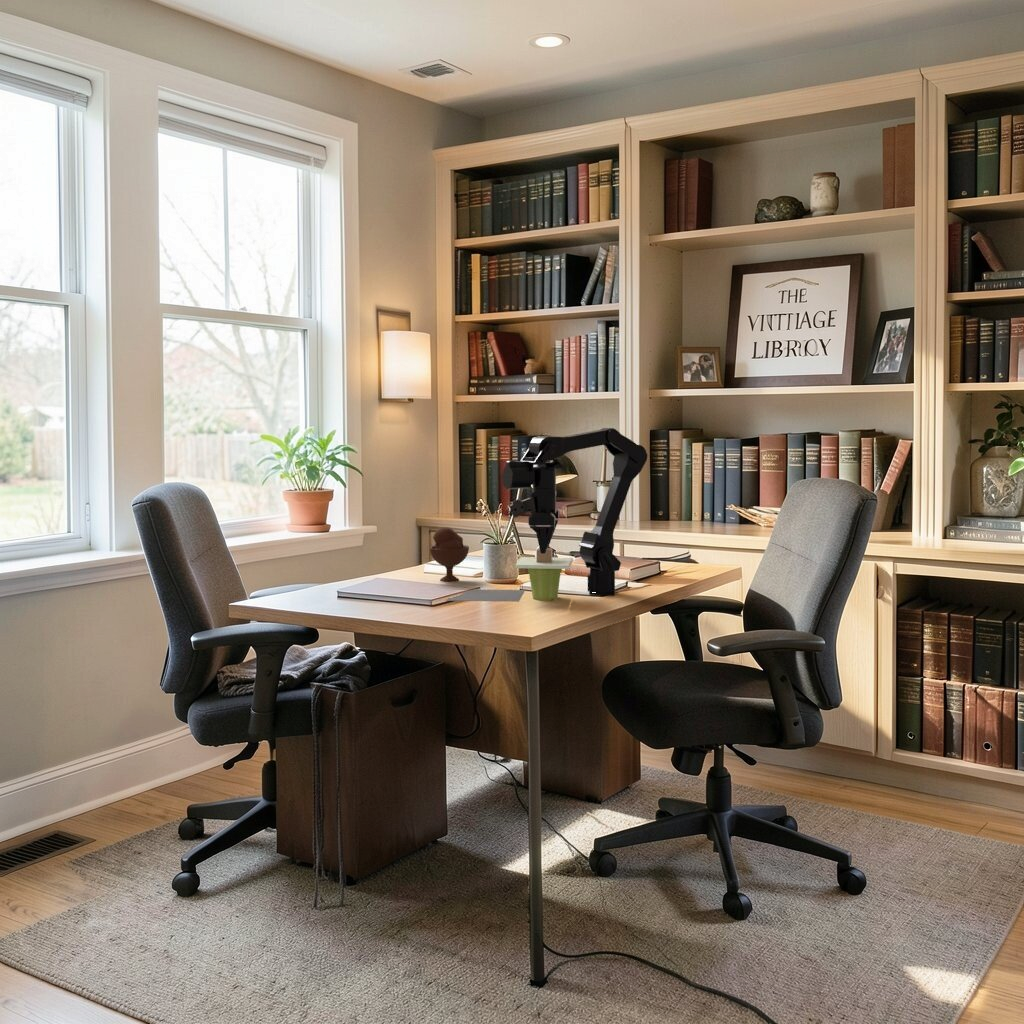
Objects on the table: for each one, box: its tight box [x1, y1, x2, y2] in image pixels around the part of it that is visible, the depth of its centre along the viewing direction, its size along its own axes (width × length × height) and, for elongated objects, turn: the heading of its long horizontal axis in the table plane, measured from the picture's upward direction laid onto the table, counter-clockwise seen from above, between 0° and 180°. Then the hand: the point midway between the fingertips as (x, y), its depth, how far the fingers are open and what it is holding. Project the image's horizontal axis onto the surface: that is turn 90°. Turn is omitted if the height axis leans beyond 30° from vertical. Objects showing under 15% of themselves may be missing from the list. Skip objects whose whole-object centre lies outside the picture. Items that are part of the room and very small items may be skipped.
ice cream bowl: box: [429, 526, 470, 583], centre depth 293 cm, size 11×11×15 cm
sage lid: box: [514, 547, 574, 570], centre depth 265 cm, size 13×13×4 cm
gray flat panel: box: [445, 588, 526, 603], centre depth 271 cm, size 18×16×1 cm
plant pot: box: [526, 568, 563, 601], centre depth 266 cm, size 9×9×9 cm
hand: (544, 550), depth 265 cm, fingers open, 9 cm apart
